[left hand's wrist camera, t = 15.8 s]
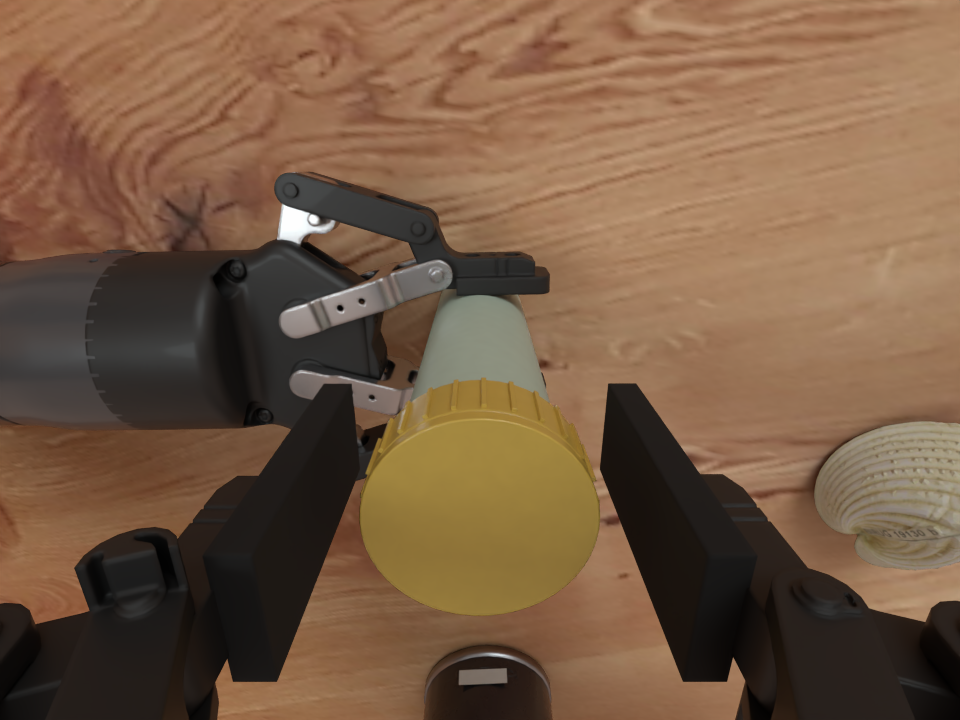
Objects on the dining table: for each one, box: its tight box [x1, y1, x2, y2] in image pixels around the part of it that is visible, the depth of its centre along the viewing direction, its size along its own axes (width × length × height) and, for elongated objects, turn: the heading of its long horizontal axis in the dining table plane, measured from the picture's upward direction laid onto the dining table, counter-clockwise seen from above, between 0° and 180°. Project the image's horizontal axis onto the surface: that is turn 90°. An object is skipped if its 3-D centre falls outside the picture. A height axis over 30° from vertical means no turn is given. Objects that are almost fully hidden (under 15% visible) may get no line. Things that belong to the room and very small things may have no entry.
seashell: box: [814, 421, 960, 570], centre depth 30 cm, size 8×8×8 cm
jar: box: [410, 289, 550, 403], centre depth 20 cm, size 4×4×18 cm
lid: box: [359, 377, 600, 616], centre depth 11 cm, size 5×5×2 cm
